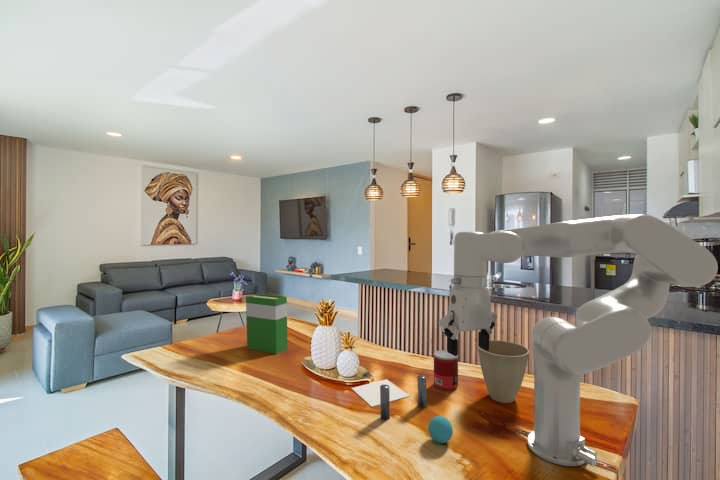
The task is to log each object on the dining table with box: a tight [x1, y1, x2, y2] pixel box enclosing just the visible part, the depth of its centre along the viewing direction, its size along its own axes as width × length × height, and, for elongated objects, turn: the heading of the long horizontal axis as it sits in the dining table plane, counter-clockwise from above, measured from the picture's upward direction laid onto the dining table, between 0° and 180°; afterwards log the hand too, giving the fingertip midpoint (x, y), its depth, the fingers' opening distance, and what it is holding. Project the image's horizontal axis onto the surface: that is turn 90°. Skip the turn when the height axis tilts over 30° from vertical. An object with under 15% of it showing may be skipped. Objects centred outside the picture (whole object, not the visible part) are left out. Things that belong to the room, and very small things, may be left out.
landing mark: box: [351, 379, 411, 408], centre depth 114 cm, size 14×14×1 cm
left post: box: [379, 384, 391, 421], centre depth 98 cm, size 3×3×9 cm
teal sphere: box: [428, 415, 454, 444], centre depth 87 cm, size 6×6×6 cm
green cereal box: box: [245, 293, 289, 355], centre depth 158 cm, size 18×7×24 cm, turn 62°
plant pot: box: [477, 339, 530, 404], centre depth 109 cm, size 15×15×16 cm
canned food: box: [433, 349, 459, 392], centre depth 117 cm, size 8×8×11 cm
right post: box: [417, 374, 428, 409], centre depth 104 cm, size 3×3×9 cm
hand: (468, 351), depth 85 cm, fingers open, 9 cm apart
